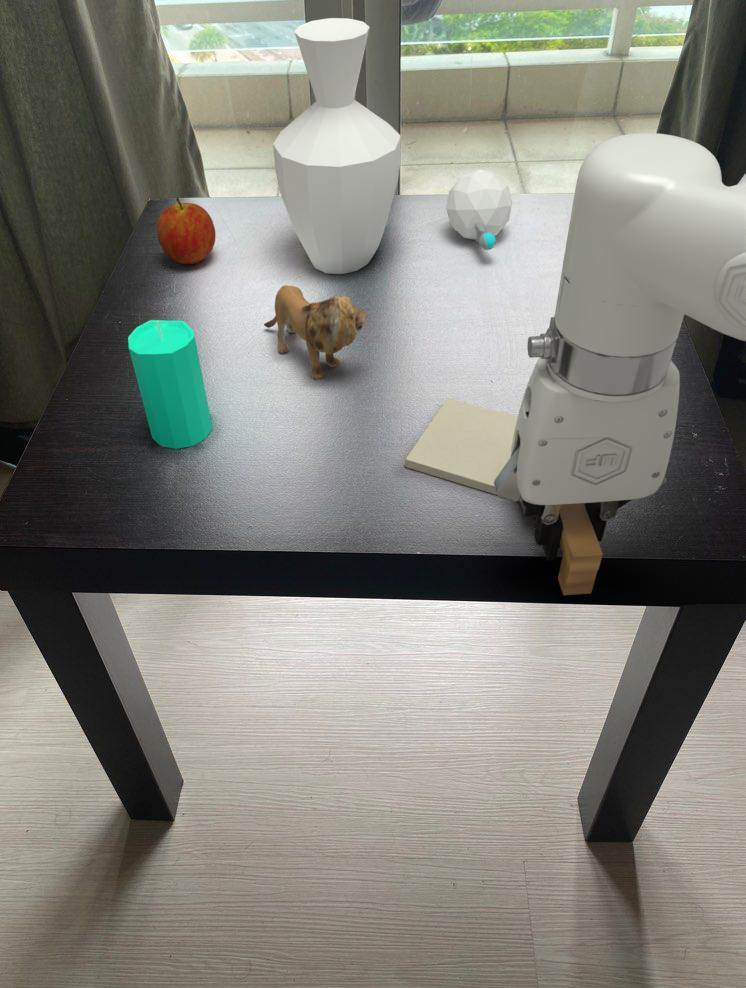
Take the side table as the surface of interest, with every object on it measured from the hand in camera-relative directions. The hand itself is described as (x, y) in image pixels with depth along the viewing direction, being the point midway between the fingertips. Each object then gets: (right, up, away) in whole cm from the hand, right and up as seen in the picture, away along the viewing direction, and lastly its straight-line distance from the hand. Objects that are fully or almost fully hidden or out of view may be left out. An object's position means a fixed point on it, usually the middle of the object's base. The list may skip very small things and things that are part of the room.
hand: (565, 544), depth 67 cm
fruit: (-36, +35, +38) cm, 63 cm away
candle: (-33, +11, +16) cm, 38 cm away
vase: (-18, +35, +37) cm, 54 cm away
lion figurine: (-21, +20, +23) cm, 37 cm away
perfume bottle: (-1, +37, +39) cm, 54 cm away
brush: (0, +1, +3) cm, 3 cm away
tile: (-3, +8, +11) cm, 13 cm away
